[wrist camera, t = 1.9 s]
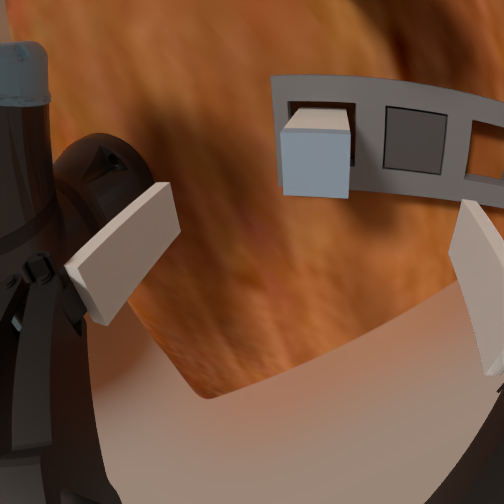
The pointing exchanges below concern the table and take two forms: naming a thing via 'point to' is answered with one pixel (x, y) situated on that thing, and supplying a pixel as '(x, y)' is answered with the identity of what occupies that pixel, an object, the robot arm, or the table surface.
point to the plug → (316, 153)
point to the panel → (401, 134)
